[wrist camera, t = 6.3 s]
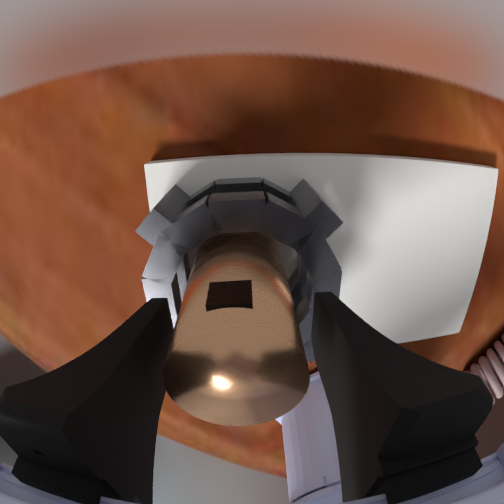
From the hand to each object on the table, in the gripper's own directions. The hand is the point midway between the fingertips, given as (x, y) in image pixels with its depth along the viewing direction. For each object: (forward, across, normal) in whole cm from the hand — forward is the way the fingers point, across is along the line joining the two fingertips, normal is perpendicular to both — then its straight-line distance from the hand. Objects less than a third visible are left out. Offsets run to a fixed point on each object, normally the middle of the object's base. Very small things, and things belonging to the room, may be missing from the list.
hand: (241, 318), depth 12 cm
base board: (+6, -6, +1) cm, 8 cm away
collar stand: (+6, 0, 0) cm, 6 cm away
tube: (+5, 0, 0) cm, 5 cm away
